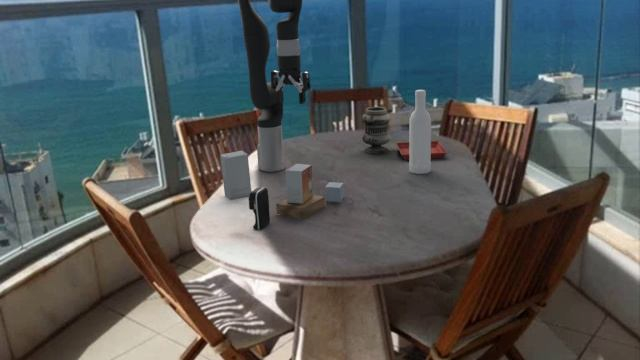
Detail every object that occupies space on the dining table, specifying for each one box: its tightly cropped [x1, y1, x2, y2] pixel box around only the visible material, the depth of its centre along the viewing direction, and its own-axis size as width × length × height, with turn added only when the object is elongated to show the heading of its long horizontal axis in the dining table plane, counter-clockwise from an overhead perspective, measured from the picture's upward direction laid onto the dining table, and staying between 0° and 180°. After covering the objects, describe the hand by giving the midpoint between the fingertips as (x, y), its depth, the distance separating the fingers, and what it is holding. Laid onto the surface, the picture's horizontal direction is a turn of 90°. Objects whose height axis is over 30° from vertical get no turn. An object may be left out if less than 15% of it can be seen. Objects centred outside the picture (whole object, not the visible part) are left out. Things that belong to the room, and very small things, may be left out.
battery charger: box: [248, 187, 271, 231], centre depth 177 cm, size 7×4×11 cm, turn 161°
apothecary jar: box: [361, 106, 392, 154], centre depth 252 cm, size 12×12×18 cm
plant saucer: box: [395, 140, 447, 161], centre depth 246 cm, size 18×18×3 cm
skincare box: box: [219, 150, 252, 200], centre depth 205 cm, size 8×6×15 cm
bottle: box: [408, 89, 432, 175], centre depth 220 cm, size 8×8×30 cm
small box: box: [285, 163, 314, 204], centre depth 188 cm, size 8×6×10 cm
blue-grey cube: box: [324, 181, 345, 203], centre depth 198 cm, size 5×5×5 cm
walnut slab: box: [275, 194, 326, 220], centre depth 190 cm, size 10×12×4 cm
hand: (291, 102), depth 202 cm, fingers open, 8 cm apart
